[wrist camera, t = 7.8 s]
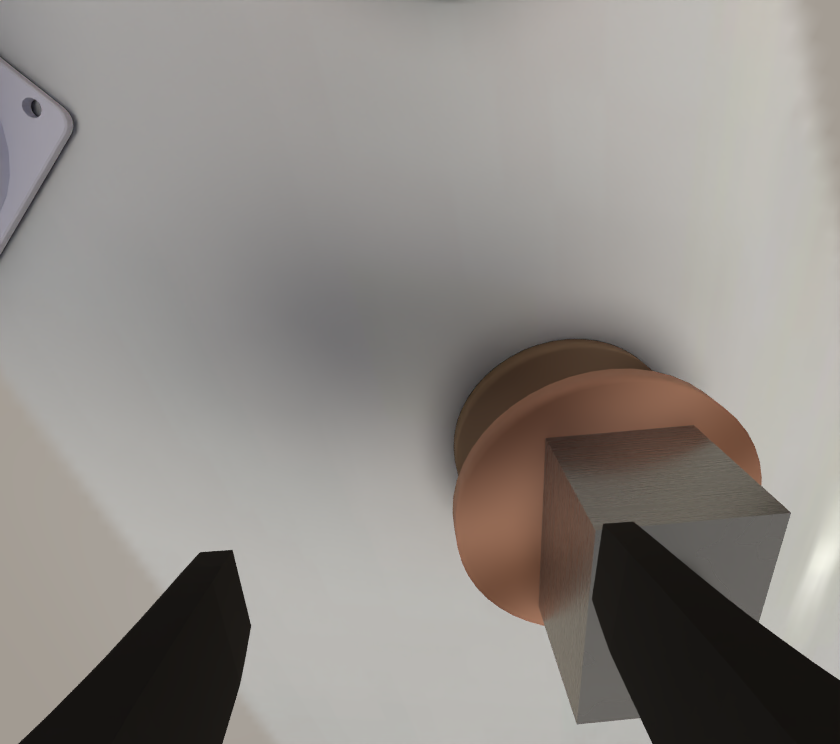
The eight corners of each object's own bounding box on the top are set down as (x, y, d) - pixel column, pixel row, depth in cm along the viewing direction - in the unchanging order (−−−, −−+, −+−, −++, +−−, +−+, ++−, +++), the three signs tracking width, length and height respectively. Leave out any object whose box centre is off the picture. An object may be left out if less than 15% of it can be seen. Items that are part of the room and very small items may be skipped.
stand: (392, 452, 21) (392, 537, 16) (572, 272, 18) (635, 313, 13) (551, 567, 24) (589, 666, 19) (726, 427, 21) (819, 504, 17)
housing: (538, 606, 18) (589, 763, 13) (545, 437, 15) (613, 564, 10) (663, 594, 18) (756, 747, 13) (693, 424, 15) (825, 544, 10)
